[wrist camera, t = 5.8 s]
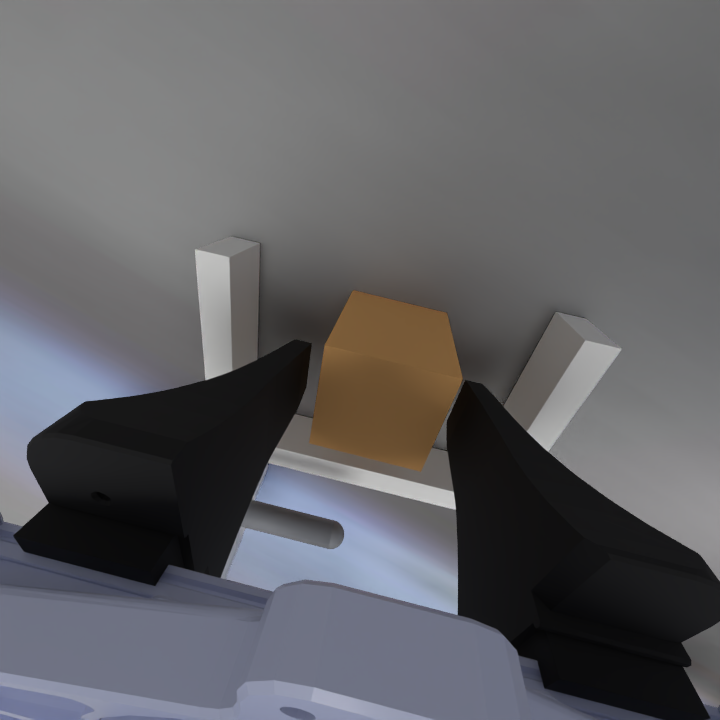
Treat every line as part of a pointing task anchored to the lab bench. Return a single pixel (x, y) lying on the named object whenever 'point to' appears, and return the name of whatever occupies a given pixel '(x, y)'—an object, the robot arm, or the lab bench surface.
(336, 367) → the tan wooden cube
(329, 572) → the lab bench surface
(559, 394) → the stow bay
